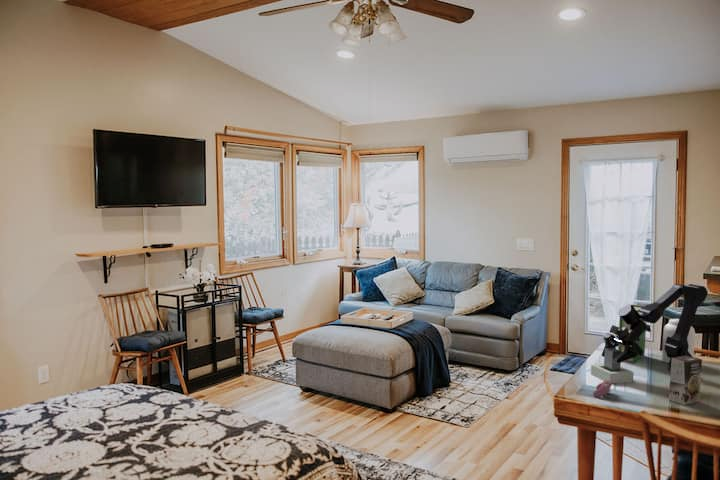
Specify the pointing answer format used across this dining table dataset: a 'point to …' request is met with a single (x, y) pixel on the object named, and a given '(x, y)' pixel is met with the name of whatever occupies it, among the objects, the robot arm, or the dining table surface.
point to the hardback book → (640, 343)
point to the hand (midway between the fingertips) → (609, 359)
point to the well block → (612, 374)
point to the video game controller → (602, 388)
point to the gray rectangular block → (612, 359)
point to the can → (670, 331)
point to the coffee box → (685, 380)
